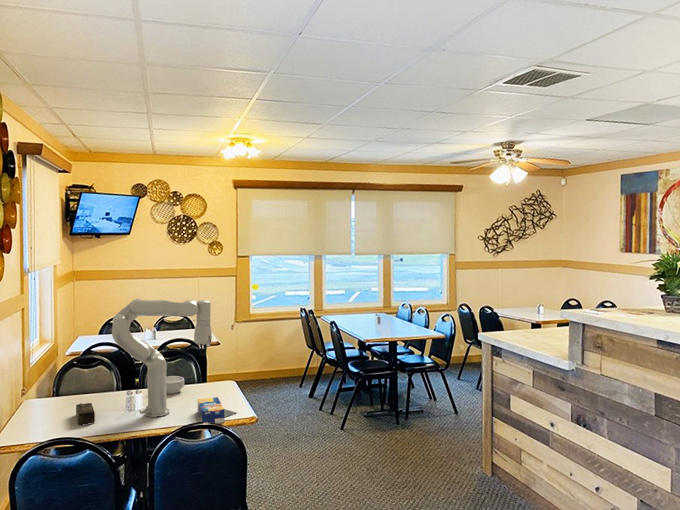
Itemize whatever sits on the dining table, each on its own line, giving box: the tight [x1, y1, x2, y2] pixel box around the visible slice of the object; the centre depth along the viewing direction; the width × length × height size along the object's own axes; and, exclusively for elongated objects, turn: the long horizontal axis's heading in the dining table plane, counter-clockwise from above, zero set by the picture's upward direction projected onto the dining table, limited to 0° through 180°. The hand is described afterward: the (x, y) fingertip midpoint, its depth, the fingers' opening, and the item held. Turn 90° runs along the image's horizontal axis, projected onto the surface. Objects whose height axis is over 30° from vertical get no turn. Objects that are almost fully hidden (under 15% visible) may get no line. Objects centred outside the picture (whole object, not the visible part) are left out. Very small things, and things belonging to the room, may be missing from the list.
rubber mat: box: [224, 408, 237, 419], centre depth 289 cm, size 12×12×1 cm
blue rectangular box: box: [197, 396, 225, 424], centre depth 285 cm, size 7×11×22 cm
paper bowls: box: [166, 375, 185, 395], centre depth 330 cm, size 15×15×8 cm
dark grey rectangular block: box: [75, 402, 96, 426], centre depth 281 cm, size 8×19×7 cm, turn 29°
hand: (203, 355), depth 299 cm, fingers closed
